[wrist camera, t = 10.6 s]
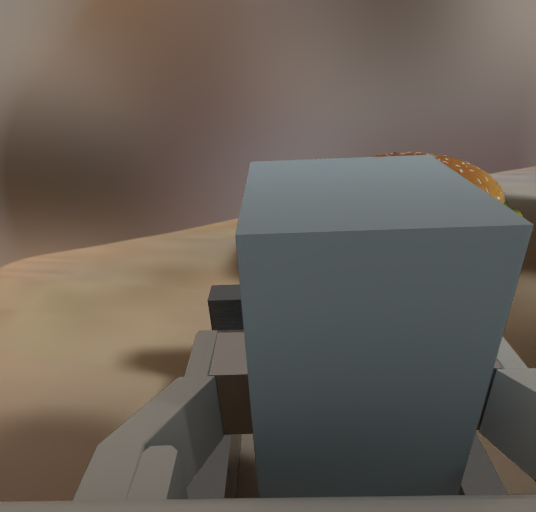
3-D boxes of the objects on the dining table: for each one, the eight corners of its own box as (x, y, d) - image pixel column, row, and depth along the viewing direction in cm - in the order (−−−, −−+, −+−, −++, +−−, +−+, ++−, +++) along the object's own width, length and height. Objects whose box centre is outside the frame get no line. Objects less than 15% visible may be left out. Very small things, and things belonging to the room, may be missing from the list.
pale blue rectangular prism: (388, 453, 13) (430, 154, 9) (429, 597, 10) (533, 224, 5) (269, 455, 14) (250, 161, 9) (267, 598, 10) (235, 234, 5)
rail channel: (413, 365, 20) (425, 277, 17) (593, 778, 9) (694, 687, 6) (223, 370, 20) (211, 285, 18) (158, 773, 9) (105, 685, 7)
